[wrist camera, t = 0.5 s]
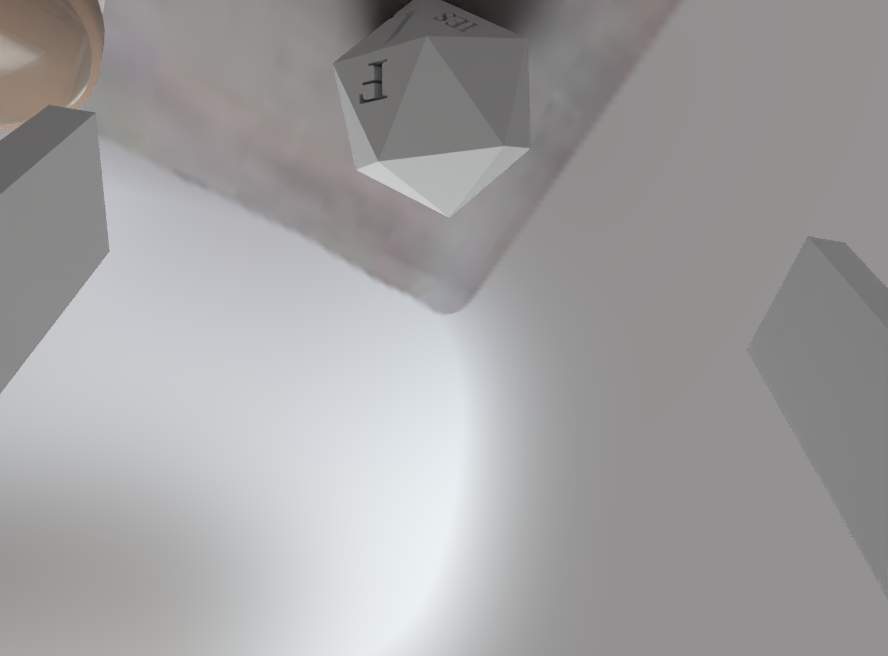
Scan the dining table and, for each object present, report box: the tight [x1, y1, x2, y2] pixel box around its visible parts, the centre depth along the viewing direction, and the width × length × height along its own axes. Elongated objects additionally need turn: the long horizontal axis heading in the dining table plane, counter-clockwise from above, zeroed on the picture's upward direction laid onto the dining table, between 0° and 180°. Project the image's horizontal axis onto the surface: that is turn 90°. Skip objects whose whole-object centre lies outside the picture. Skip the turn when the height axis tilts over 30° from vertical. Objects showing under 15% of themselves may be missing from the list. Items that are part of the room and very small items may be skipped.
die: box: [333, 0, 531, 217], centre depth 32 cm, size 8×9×10 cm
